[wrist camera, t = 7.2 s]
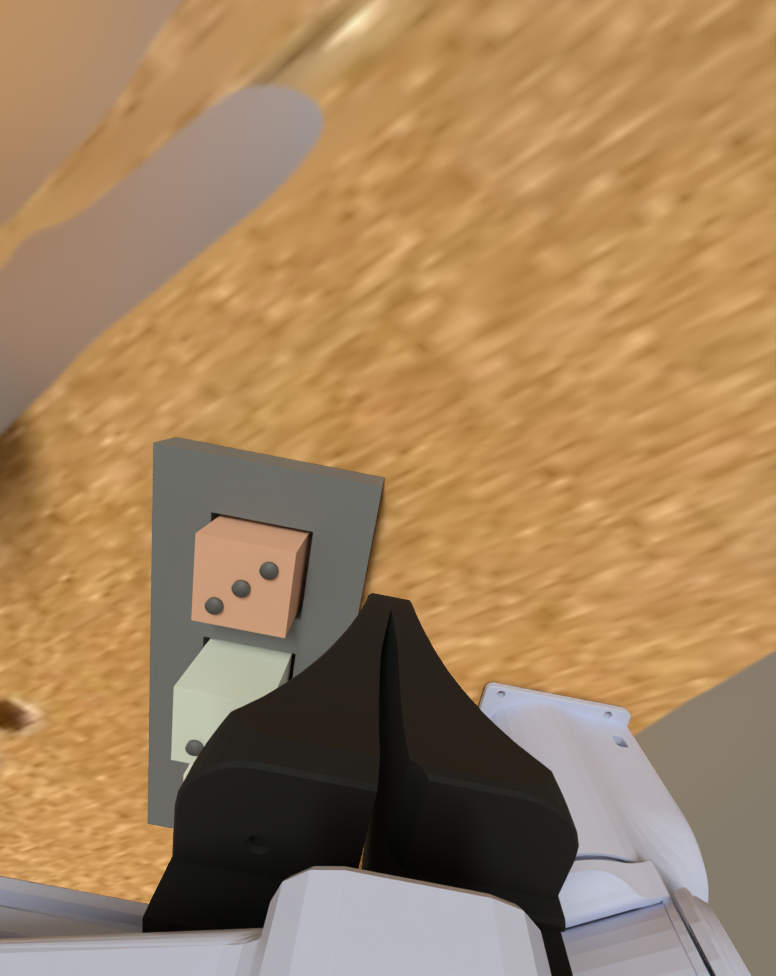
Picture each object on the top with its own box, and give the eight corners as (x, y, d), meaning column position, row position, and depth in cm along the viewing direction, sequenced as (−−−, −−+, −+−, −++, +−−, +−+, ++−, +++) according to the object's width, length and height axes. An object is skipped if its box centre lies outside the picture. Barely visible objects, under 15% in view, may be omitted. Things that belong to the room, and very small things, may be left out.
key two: (292, 651, 23) (268, 708, 19) (283, 715, 25) (259, 780, 21) (212, 636, 23) (171, 689, 19) (207, 700, 25) (168, 763, 21)
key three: (315, 523, 22) (295, 554, 18) (304, 596, 24) (283, 640, 20) (231, 507, 22) (193, 534, 18) (226, 581, 24) (189, 622, 20)
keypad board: (384, 477, 22) (382, 487, 20) (318, 823, 29) (312, 855, 27) (176, 437, 22) (153, 442, 20) (164, 794, 29) (147, 823, 27)
